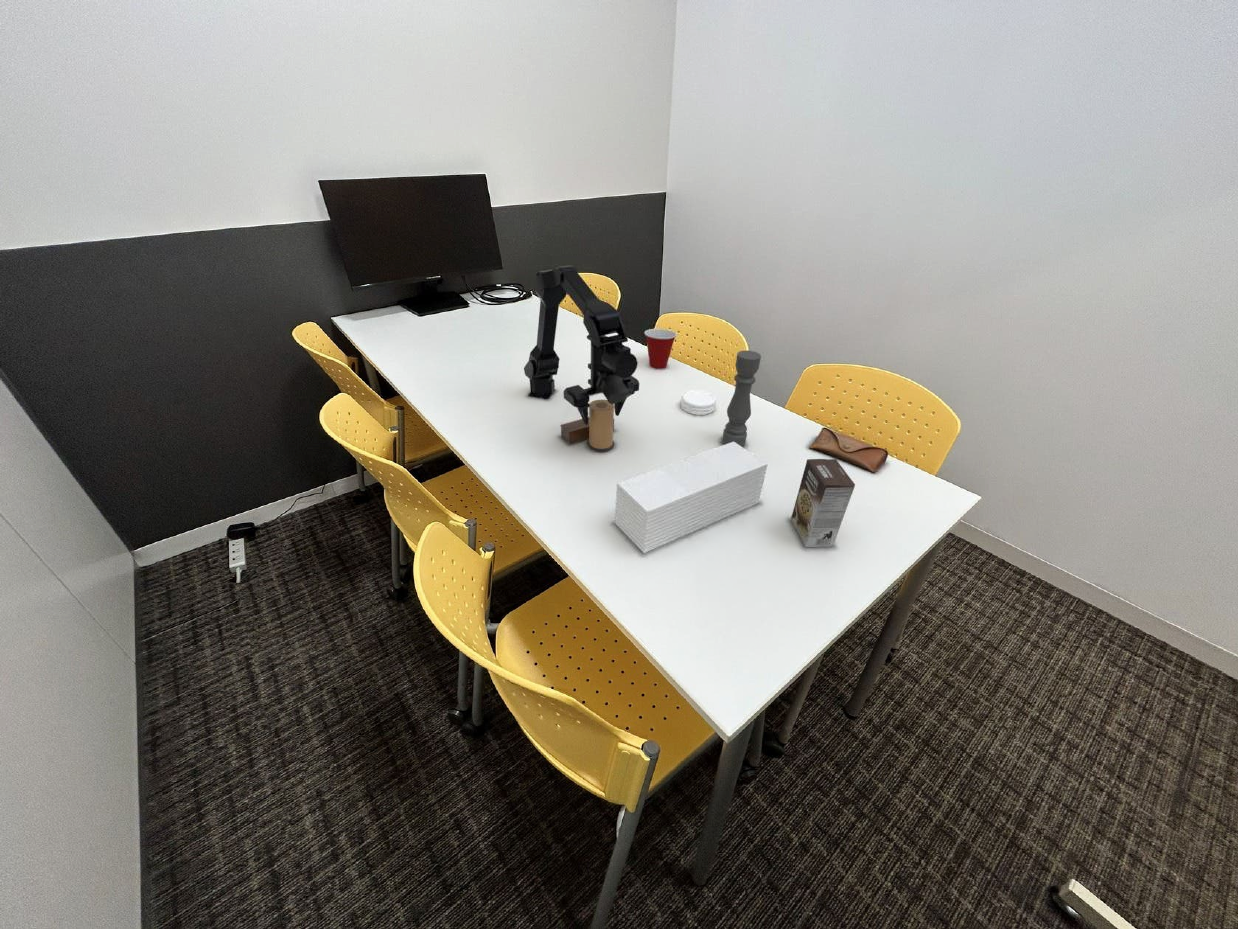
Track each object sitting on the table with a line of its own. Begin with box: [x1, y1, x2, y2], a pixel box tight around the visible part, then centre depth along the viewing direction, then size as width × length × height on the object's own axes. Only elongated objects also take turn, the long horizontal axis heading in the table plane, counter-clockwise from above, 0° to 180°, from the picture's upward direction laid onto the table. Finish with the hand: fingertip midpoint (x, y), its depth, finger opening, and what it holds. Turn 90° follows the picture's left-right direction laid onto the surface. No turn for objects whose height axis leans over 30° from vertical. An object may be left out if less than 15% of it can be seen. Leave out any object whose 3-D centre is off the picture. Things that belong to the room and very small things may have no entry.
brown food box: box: [790, 458, 856, 548], centre depth 109 cm, size 9×6×16 cm
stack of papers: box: [614, 442, 768, 554], centre depth 114 cm, size 32×11×11 cm, turn 123°
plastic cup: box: [643, 328, 678, 370], centre depth 180 cm, size 11×11×12 cm
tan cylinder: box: [587, 399, 615, 453], centre depth 136 cm, size 13×7×13 cm
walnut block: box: [560, 416, 615, 445], centre depth 143 cm, size 4×14×4 cm, turn 123°
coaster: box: [680, 389, 717, 416], centre depth 158 cm, size 10×10×4 cm
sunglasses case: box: [808, 427, 889, 473], centre depth 139 cm, size 18×7×7 cm
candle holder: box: [721, 349, 762, 448], centre depth 136 cm, size 6×6×25 cm
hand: (601, 419), depth 135 cm, fingers open, 9 cm apart
